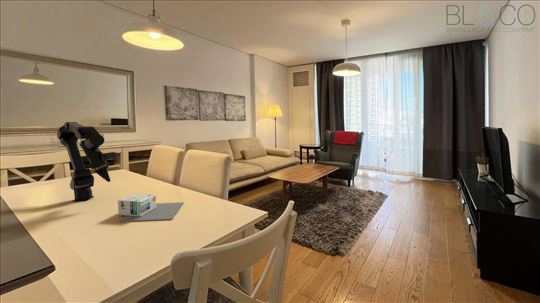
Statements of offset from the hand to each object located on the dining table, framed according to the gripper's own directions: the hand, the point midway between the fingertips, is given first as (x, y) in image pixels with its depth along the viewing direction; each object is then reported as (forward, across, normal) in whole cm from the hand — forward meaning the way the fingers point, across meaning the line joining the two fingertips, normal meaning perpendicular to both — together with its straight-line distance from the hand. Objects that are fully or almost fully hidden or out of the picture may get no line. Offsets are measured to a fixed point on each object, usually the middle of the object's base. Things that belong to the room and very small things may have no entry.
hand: (109, 181), depth 117 cm
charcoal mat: (+21, -17, -10) cm, 29 cm away
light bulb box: (+12, -12, -2) cm, 17 cm away
